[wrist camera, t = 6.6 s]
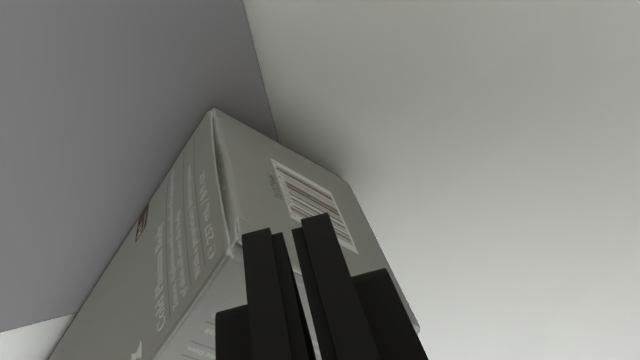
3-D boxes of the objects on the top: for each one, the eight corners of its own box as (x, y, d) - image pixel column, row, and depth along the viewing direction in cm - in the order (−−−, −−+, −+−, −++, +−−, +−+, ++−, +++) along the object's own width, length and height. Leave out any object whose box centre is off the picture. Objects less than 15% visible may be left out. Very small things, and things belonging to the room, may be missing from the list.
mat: (217, -98, 19) (217, -97, 18) (304, 247, 25) (306, 252, 24) (-385, 39, 18) (-398, 43, 17) (-142, 363, 24) (-148, 370, 23)
